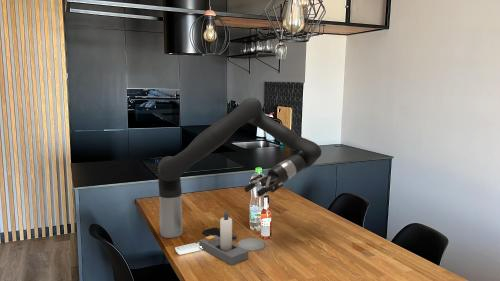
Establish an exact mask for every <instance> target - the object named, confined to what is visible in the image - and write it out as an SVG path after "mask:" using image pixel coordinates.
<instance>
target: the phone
mask: <svg viewBox="0 0 500 281" xmlns="http://www.w3.org/2000/svg"><path fill="white" fill-rule="evenodd" d="M201 234H202V235H204V236H206V237H208V236H211V235H212V236H214V235H216V236H218V237H220V227H215V226H214V227H211V228H208V229H205V230H202V231H201ZM237 238H238V237H237V236H236V235H234V234H232V242H233V241H235V240H238V239H237Z"/></svg>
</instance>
